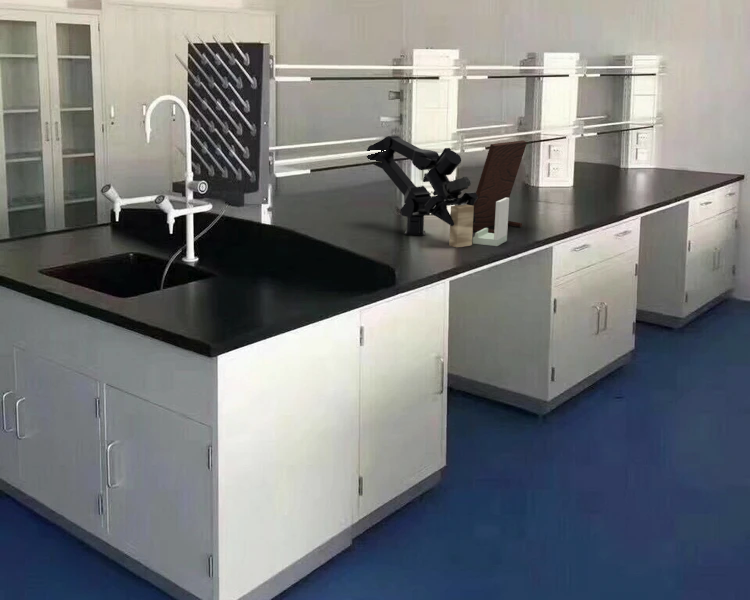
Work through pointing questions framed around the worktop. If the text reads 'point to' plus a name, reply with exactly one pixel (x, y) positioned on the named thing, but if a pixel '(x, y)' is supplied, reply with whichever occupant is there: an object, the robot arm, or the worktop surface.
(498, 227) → the picture ledge
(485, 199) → the picture frame
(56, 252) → the worktop surface
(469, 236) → the oak photo frame
